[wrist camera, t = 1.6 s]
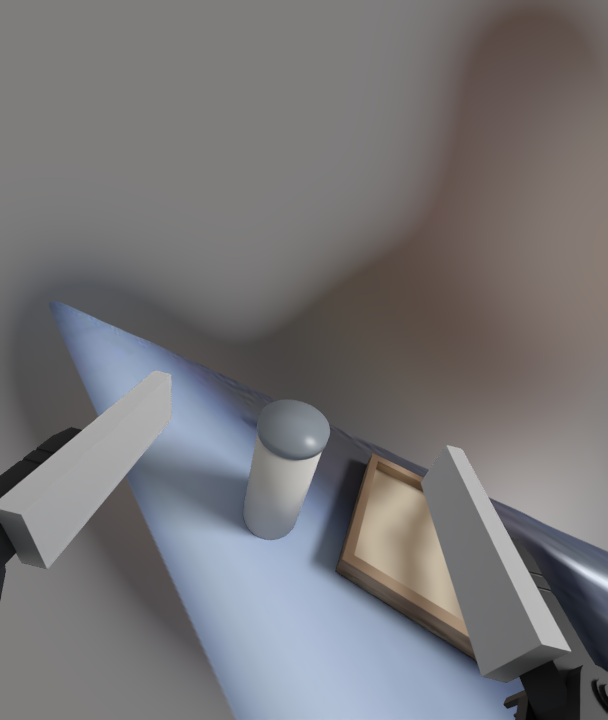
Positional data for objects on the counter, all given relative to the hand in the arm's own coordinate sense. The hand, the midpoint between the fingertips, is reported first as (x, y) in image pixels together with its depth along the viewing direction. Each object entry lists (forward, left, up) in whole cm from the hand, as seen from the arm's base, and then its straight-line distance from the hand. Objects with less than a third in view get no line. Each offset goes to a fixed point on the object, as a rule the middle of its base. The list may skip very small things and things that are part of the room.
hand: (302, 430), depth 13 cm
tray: (-18, -10, -22) cm, 30 cm away
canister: (0, -10, -22) cm, 24 cm away
